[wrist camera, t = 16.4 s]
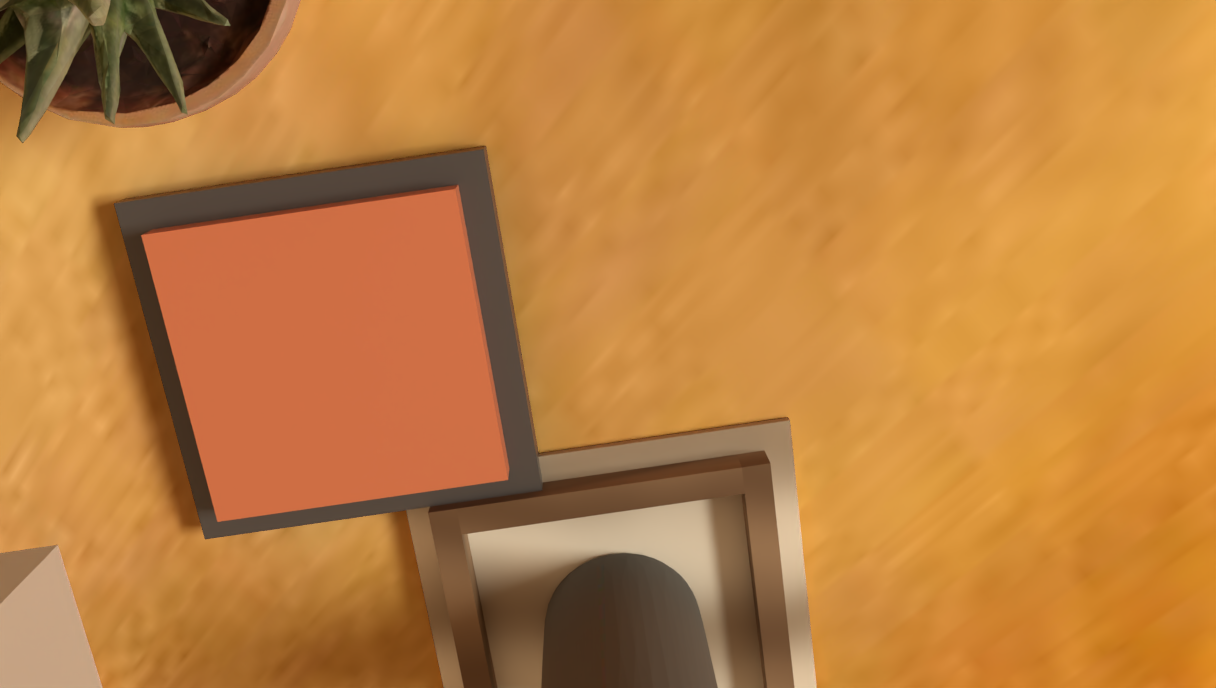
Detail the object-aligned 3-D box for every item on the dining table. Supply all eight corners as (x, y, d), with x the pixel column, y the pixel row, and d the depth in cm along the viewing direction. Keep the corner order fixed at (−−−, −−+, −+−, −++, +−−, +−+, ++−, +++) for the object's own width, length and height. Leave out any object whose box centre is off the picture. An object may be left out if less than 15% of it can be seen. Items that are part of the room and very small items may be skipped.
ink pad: (126, 198, 36) (101, 208, 34) (485, 145, 36) (481, 152, 34) (213, 526, 40) (195, 552, 38) (542, 479, 40) (541, 502, 38)
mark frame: (400, 473, 39) (393, 490, 38) (788, 417, 39) (796, 432, 38) (468, 799, 43) (465, 826, 42) (821, 748, 43) (830, 773, 42)
